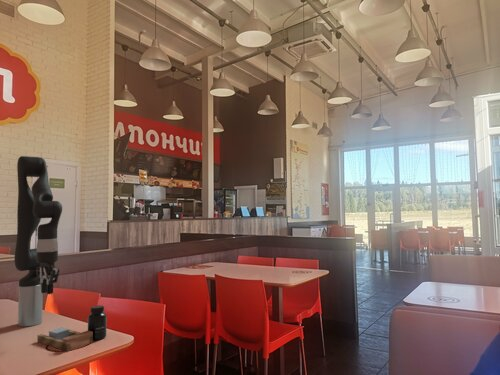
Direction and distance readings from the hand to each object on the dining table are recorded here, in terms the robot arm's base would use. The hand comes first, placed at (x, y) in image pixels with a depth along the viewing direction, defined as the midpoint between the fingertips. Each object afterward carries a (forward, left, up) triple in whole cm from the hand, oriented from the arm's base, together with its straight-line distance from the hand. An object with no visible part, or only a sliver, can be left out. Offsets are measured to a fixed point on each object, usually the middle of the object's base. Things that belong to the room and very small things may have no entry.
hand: (47, 293), depth 147 cm
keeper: (+8, 0, -17) cm, 19 cm away
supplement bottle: (+19, +9, -17) cm, 28 cm away
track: (+12, 0, -17) cm, 21 cm away
